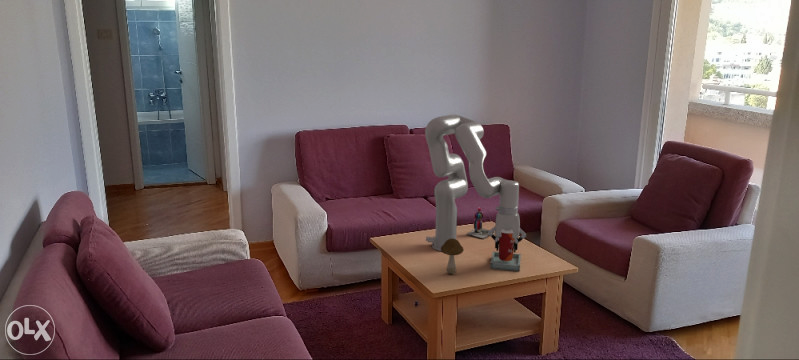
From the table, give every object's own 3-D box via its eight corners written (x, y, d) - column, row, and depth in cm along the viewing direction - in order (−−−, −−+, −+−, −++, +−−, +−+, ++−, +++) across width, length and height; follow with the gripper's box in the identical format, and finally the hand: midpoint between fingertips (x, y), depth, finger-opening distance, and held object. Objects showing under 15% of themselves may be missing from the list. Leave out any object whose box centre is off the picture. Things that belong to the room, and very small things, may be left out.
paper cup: (514, 262, 244) (516, 230, 241) (496, 261, 245) (497, 229, 242) (514, 256, 251) (517, 225, 248) (496, 254, 253) (498, 223, 250)
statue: (483, 242, 280) (483, 213, 275) (466, 237, 285) (466, 209, 280) (494, 233, 288) (494, 205, 282) (478, 229, 293) (478, 201, 288)
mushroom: (462, 268, 244) (463, 234, 240) (462, 279, 233) (464, 243, 229) (440, 267, 244) (441, 233, 241) (439, 278, 233) (440, 242, 230)
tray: (490, 268, 244) (490, 263, 243) (492, 256, 257) (492, 251, 256) (519, 271, 241) (519, 265, 240) (520, 259, 254) (520, 253, 254)
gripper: (486, 211, 242) (484, 251, 246) (529, 214, 238) (526, 255, 242) (488, 206, 249) (486, 245, 253) (529, 209, 245) (527, 249, 249)
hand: (506, 250), depth 248 cm, fingers closed on paper cup, 6 cm apart
